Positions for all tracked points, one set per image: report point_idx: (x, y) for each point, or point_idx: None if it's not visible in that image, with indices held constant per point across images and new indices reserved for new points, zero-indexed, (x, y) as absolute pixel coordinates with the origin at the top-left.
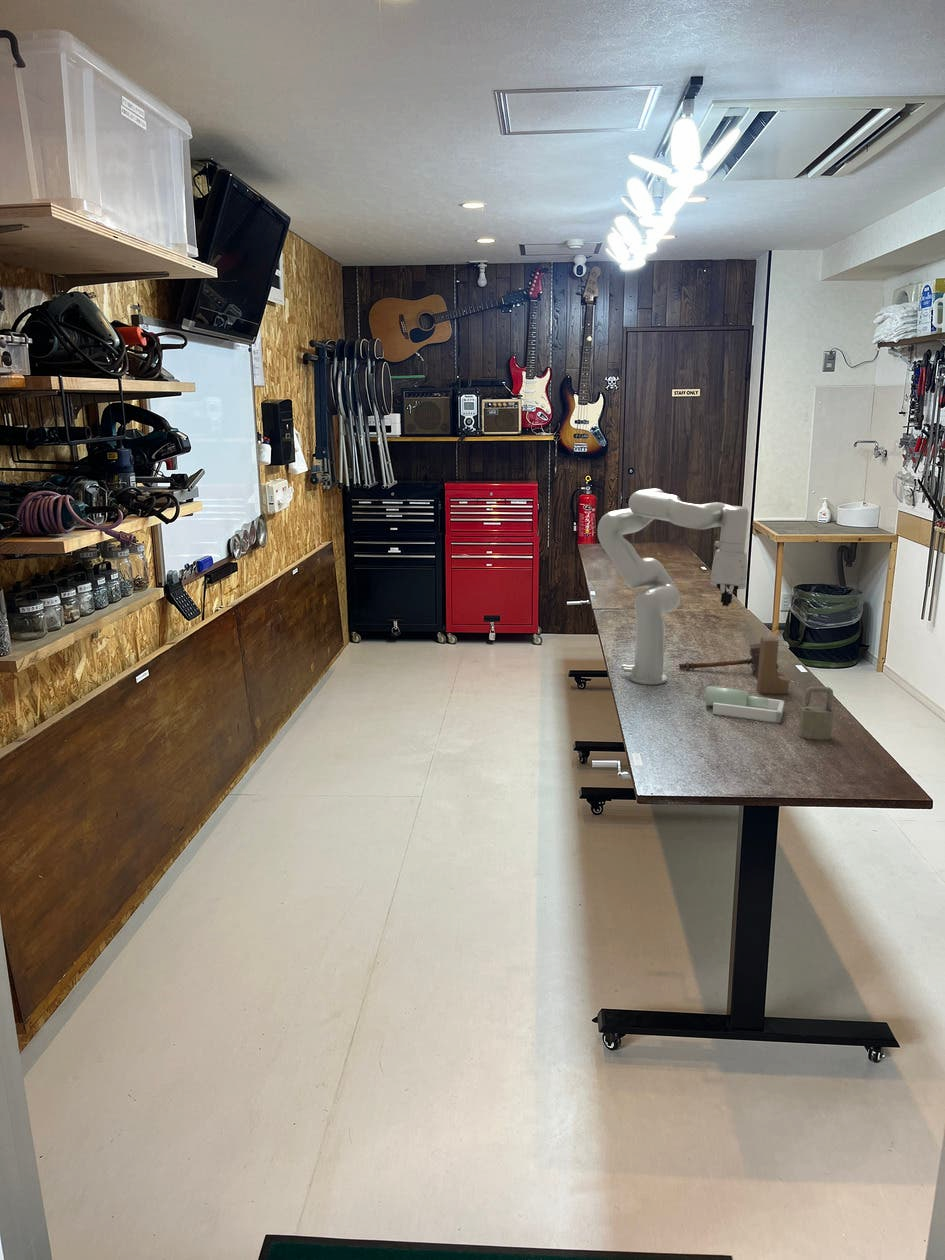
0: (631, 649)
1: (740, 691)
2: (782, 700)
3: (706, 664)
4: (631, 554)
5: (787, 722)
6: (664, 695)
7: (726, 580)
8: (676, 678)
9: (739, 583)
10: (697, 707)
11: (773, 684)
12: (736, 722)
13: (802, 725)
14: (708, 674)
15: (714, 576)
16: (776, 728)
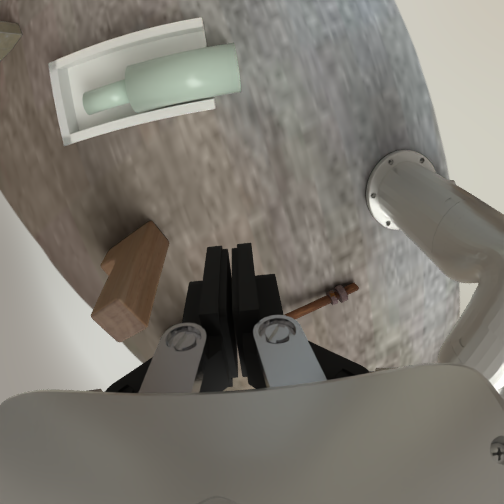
0: (434, 330)
1: (142, 77)
2: (67, 143)
3: (305, 308)
4: None
5: (50, 80)
6: (347, 96)
7: (225, 448)
8: (350, 226)
9: (18, 407)
10: (251, 48)
11: (125, 244)
12: (139, 7)
13: (3, 22)
14: (293, 284)
15: (484, 437)
16: (60, 33)
